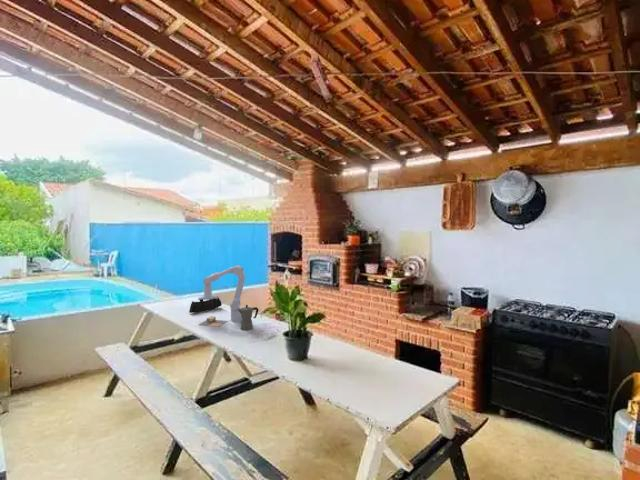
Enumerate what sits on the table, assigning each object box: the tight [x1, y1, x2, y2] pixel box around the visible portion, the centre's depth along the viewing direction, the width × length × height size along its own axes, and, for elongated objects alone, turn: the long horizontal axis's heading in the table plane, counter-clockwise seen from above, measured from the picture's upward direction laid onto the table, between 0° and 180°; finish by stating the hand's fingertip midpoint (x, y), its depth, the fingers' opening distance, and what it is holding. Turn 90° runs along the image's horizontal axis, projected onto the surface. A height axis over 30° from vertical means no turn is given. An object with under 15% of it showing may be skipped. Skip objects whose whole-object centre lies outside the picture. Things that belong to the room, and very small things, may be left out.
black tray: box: [188, 295, 223, 314], centre depth 319 cm, size 17×3×30 cm
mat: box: [198, 319, 229, 328], centre depth 282 cm, size 18×16×1 cm
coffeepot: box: [238, 304, 259, 331], centre depth 270 cm, size 15×9×18 cm, turn 111°
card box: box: [206, 315, 217, 323], centre depth 286 cm, size 4×7×3 cm, turn 168°
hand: (208, 308), depth 290 cm, fingers open, 7 cm apart
